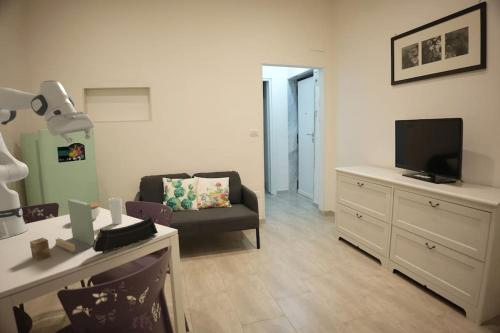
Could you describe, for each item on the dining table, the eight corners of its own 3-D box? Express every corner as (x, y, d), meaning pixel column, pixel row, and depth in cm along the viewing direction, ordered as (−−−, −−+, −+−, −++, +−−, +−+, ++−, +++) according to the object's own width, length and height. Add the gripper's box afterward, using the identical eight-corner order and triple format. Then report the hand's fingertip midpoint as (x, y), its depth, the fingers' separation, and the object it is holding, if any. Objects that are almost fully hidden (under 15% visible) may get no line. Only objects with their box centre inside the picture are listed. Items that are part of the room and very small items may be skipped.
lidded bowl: (104, 218, 175) (102, 201, 174) (81, 224, 166) (79, 206, 165) (97, 214, 184) (95, 198, 182) (75, 220, 175) (73, 202, 173)
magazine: (157, 216, 149) (99, 214, 127) (161, 217, 147) (101, 216, 125) (151, 248, 148) (91, 252, 126) (155, 250, 146) (94, 254, 123)
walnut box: (35, 261, 121) (33, 244, 120) (31, 259, 124) (28, 241, 123) (50, 256, 126) (47, 239, 125) (45, 254, 129) (43, 237, 127)
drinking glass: (118, 225, 163) (116, 200, 161) (108, 224, 164) (105, 200, 162) (126, 221, 169) (123, 197, 167) (116, 220, 171) (113, 197, 168)
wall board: (73, 253, 128) (67, 209, 125) (55, 245, 138) (49, 204, 134) (95, 245, 136) (90, 203, 133) (77, 238, 146) (71, 199, 143)
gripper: (81, 114, 142) (94, 138, 144) (40, 118, 124) (55, 147, 125) (88, 108, 139) (102, 134, 141) (47, 112, 121) (62, 141, 123)
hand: (79, 140), depth 133 cm, fingers open, 8 cm apart
